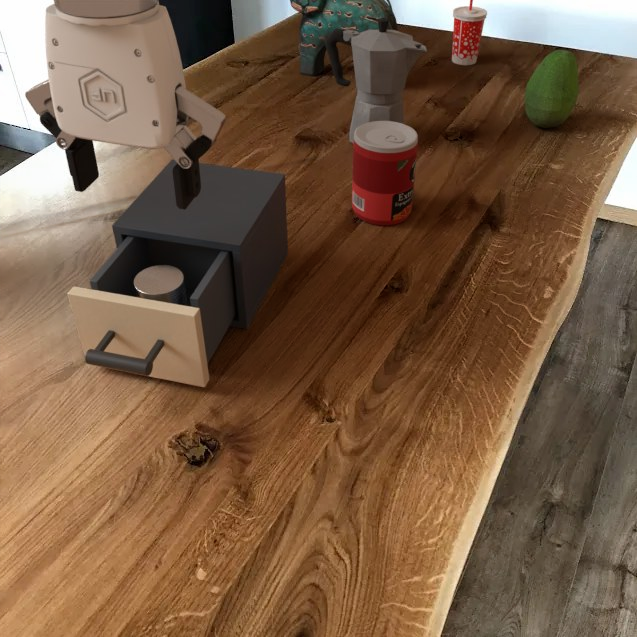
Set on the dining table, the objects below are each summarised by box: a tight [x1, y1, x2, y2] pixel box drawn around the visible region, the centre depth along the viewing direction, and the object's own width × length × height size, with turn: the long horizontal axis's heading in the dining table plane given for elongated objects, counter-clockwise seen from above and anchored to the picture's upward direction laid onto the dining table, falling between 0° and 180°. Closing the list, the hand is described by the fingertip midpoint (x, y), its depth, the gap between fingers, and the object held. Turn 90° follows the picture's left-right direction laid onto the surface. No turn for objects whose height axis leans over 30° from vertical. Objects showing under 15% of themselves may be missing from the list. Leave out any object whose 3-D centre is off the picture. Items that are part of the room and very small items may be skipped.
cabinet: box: [111, 159, 289, 330], centre depth 81 cm, size 15×14×11 cm
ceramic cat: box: [289, 0, 399, 77], centre depth 125 cm, size 20×6×20 cm, turn 61°
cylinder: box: [134, 265, 188, 306], centre depth 73 cm, size 5×5×6 cm
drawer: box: [66, 235, 238, 388], centre depth 72 cm, size 18×13×9 cm
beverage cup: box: [451, 0, 488, 66], centre depth 133 cm, size 6×6×14 cm
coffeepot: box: [325, 18, 428, 145], centre depth 108 cm, size 15×9×18 cm, turn 65°
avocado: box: [523, 49, 580, 129], centre depth 112 cm, size 8×8×12 cm
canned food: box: [351, 121, 419, 226], centre depth 93 cm, size 8×8×11 cm
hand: (137, 192), depth 65 cm, fingers open, 9 cm apart
